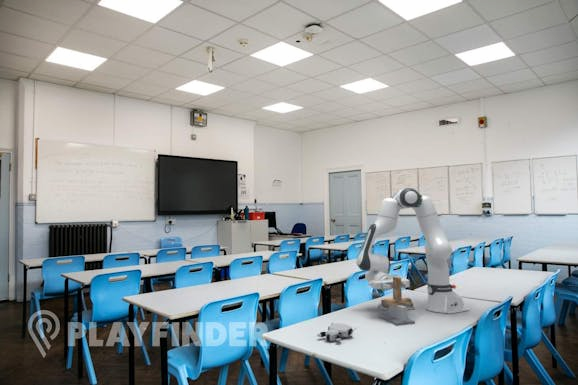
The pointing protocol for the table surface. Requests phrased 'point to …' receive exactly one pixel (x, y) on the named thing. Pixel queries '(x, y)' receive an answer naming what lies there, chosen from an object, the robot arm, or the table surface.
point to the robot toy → (337, 332)
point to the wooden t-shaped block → (397, 295)
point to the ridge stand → (398, 315)
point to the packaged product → (383, 307)
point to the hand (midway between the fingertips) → (398, 286)
